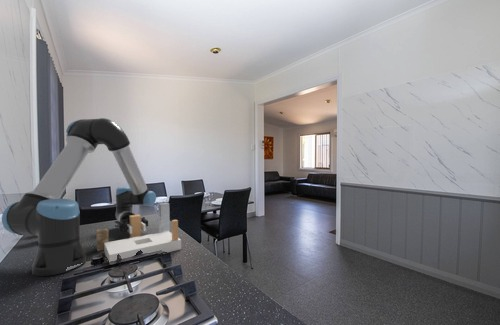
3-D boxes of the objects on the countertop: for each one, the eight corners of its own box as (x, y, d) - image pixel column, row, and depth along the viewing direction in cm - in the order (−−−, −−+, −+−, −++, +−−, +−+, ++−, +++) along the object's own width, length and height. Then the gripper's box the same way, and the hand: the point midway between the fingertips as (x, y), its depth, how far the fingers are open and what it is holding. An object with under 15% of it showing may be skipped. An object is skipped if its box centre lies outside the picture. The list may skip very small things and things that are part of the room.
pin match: (131, 244, 109) (131, 217, 109) (130, 241, 112) (129, 215, 112) (141, 242, 112) (140, 215, 111) (139, 239, 115) (138, 214, 115)
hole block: (109, 266, 87) (108, 232, 86) (104, 252, 99) (103, 223, 99) (181, 249, 102) (180, 220, 102) (168, 239, 115) (168, 213, 115)
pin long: (161, 238, 117) (160, 204, 117) (159, 236, 120) (158, 203, 120) (170, 236, 119) (169, 203, 119) (167, 234, 123) (166, 202, 122)
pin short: (97, 251, 101) (97, 231, 101) (96, 248, 105) (96, 229, 105) (108, 248, 104) (108, 230, 104) (107, 246, 107) (107, 227, 107)
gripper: (146, 223, 132) (159, 233, 113) (107, 229, 121) (115, 242, 102) (146, 209, 132) (158, 217, 113) (107, 214, 121) (114, 224, 102)
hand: (138, 229), depth 108 cm, fingers open, 5 cm apart
